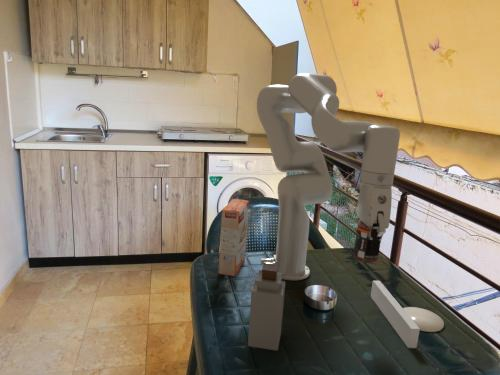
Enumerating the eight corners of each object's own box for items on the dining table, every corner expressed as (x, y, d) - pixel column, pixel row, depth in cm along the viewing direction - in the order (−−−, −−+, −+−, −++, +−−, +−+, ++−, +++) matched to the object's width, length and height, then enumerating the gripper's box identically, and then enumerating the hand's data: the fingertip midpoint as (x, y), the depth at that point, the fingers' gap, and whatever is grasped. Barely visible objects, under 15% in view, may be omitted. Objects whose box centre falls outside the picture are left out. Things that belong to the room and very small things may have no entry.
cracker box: (236, 277, 125) (240, 211, 120) (217, 274, 126) (220, 209, 121) (246, 259, 138) (250, 199, 133) (228, 257, 139) (231, 197, 134)
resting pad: (409, 331, 101) (410, 330, 101) (391, 308, 112) (391, 306, 112) (452, 332, 102) (452, 330, 102) (430, 308, 113) (430, 307, 113)
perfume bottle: (277, 350, 91) (284, 275, 87) (247, 345, 92) (252, 271, 88) (280, 333, 97) (286, 263, 93) (252, 329, 98) (257, 259, 94)
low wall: (408, 348, 95) (411, 328, 94) (370, 296, 118) (372, 280, 117) (416, 348, 95) (419, 328, 94) (377, 296, 118) (379, 280, 117)
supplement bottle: (363, 265, 98) (369, 219, 95) (348, 255, 103) (353, 212, 101) (383, 262, 100) (389, 218, 98) (367, 252, 106) (373, 210, 103)
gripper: (408, 187, 89) (395, 264, 93) (378, 171, 106) (368, 237, 110) (374, 186, 88) (363, 263, 93) (349, 170, 105) (341, 236, 109)
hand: (366, 248), depth 101 cm, fingers closed on supplement bottle, 6 cm apart
